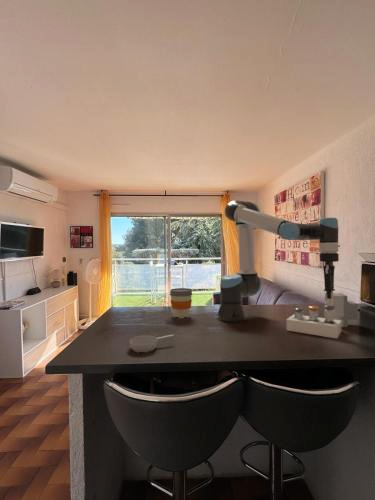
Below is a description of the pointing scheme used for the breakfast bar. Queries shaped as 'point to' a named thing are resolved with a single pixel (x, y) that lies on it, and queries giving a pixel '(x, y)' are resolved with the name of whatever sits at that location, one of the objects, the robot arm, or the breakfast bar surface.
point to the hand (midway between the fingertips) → (329, 305)
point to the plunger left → (299, 313)
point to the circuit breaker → (344, 309)
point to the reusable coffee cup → (181, 302)
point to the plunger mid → (313, 313)
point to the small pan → (145, 343)
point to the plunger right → (329, 314)
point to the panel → (314, 326)
